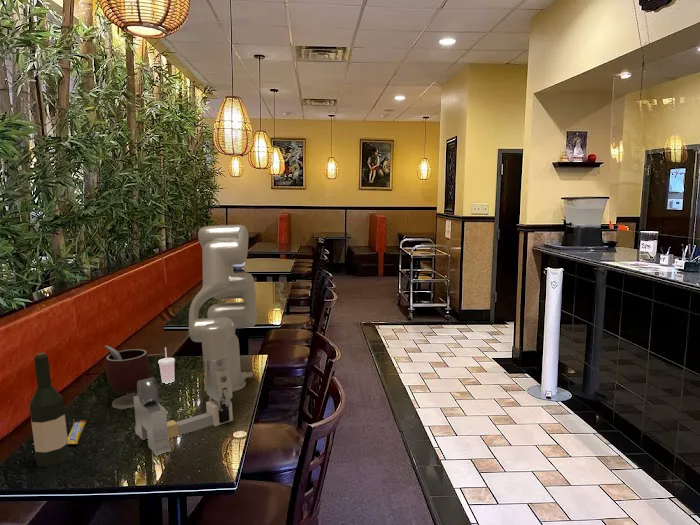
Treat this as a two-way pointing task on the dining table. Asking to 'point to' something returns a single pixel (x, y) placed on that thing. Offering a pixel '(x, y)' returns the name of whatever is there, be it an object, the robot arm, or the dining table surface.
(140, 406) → the bulkhead
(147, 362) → the mate gourd
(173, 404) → the dining table surface
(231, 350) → the robot arm
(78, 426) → the candy bar
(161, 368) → the beverage cup
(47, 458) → the wine bottle
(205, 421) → the plug
